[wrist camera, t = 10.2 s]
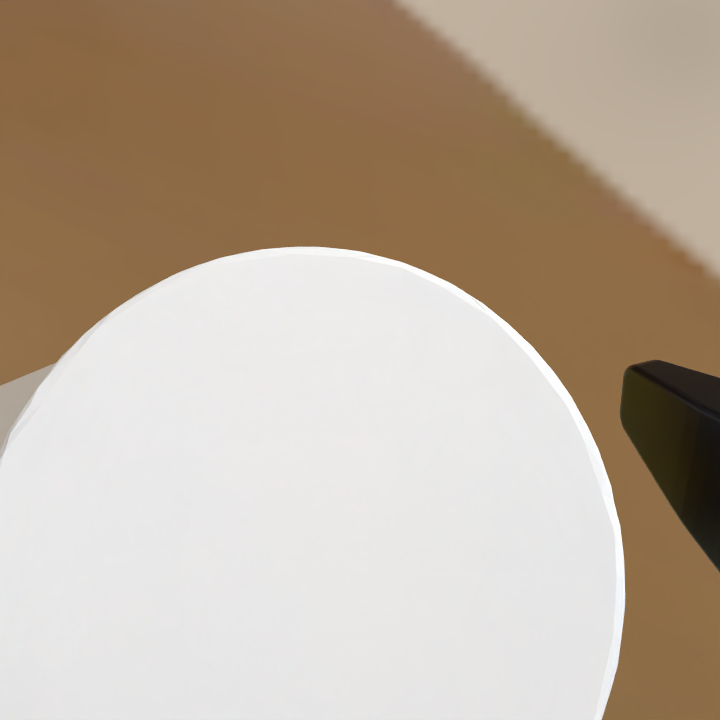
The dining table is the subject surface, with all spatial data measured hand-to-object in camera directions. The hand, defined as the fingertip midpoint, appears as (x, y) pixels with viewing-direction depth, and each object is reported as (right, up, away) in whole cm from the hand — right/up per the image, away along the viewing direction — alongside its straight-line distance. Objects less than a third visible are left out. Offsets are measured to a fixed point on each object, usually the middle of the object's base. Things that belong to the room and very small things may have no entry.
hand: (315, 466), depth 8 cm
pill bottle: (0, -3, +8) cm, 8 cm away
